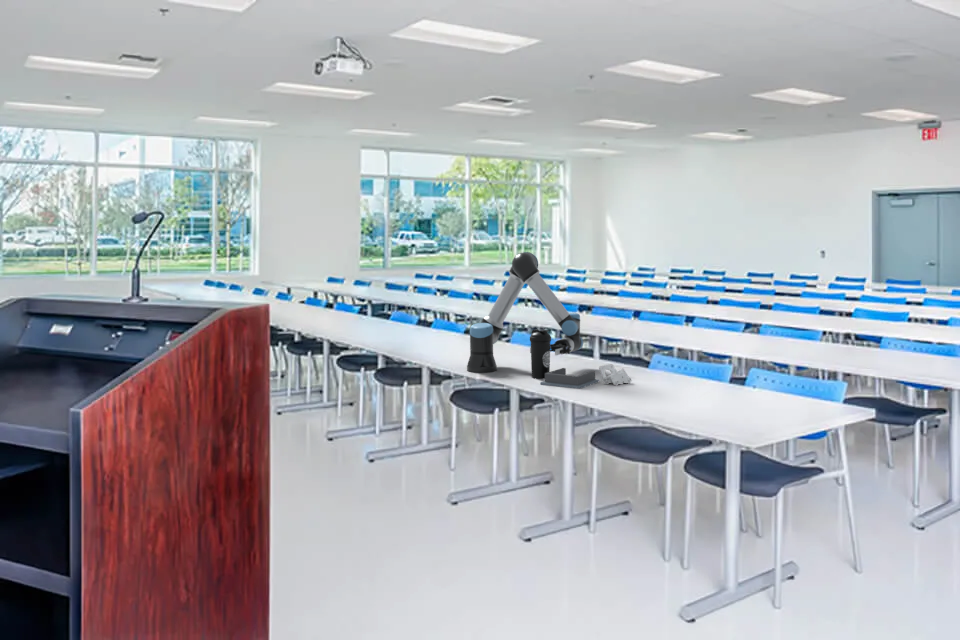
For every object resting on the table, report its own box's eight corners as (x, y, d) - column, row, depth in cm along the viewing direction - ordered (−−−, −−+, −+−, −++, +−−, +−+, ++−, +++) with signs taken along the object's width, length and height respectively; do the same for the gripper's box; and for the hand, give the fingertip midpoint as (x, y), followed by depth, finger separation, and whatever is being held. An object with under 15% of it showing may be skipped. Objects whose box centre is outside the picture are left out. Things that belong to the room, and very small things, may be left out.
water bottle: (543, 380, 377) (543, 331, 375) (525, 377, 384) (525, 330, 381) (555, 376, 385) (555, 329, 383) (537, 374, 392) (537, 328, 389)
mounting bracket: (623, 385, 371) (616, 363, 374) (633, 382, 366) (625, 359, 369) (605, 389, 364) (598, 366, 367) (614, 385, 359) (607, 362, 362)
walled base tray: (540, 384, 366) (540, 373, 366) (561, 377, 383) (561, 367, 382) (579, 388, 355) (579, 377, 355) (599, 381, 372) (599, 371, 371)
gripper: (586, 355, 395) (566, 361, 377) (541, 351, 409) (520, 357, 391) (586, 340, 394) (566, 345, 377) (541, 337, 408) (520, 342, 390)
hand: (543, 351), depth 384 cm, fingers open, 13 cm apart
